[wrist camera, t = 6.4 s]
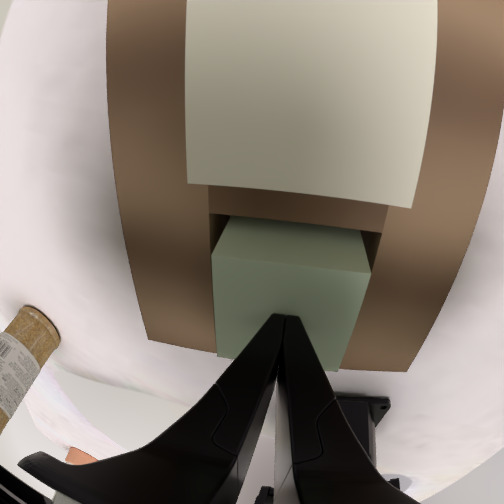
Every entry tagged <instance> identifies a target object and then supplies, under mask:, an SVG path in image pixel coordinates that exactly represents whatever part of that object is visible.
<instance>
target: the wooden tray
mask: <svg viewBox="0 0 504 504" xmlns="http://www.w3.org/2000/svg"><path fill="white" fill-rule="evenodd" d="M186 9H187V0H108V8H107V32H106V74H107V100H108V116H109V129H110V141H111V151H112V160H113V168H114V176H115V184H116V191H117V198H118V204H119V211H120V217H121V222H122V228H123V234H124V239H125V244H126V249H127V254H128V259H129V264H130V269H131V273H132V278H133V282H134V286H135V291H136V295H137V299H138V303H139V307H140V311H141V315H142V318H143V322H144V326H145V329H146V333H147V337H148V340H153V341H157V342H162V343H166V344H171V345H176V346H180V347H185V348H190V349H196V350H201V351H206V352H212V353H217V346H216V331H215V316H214V299H213V280H212V259H211V255H212V253H213V251H214V249H215V247H216V245H217V243H218V241H219V239H220V237H221V235H222V233H223V231H224V229H225V227H226V225H227V223H228V221H229V219H230V215H234V216H244V217H254V218H264V219H273V220H282V221H291V222H300V223H309V224H317V225H325V226H334V227H341V228H349V229H357V230H360V233H361V236H362V240H363V244H364V247H365V251H366V255H367V259H368V263H369V267H370V271H371V276H370V280H369V283H368V286H367V290H366V293H365V296H364V299H363V302H362V305H361V308H360V311H359V314H358V317H357V320H356V323H355V326H354V329H353V332H352V335H351V338H350V340H349V343H348V346H347V348H346V351H345V354H344V356H343V359H342V362H341V364H340V367H339V369H350V370H367V371H390V372H407V370H408V369H409V367H410V365H411V364H412V362H413V360H414V359H415V357H416V355H417V353H418V352H419V350H420V348H421V346H422V345H423V343H424V341H425V339H426V337H427V335H428V334H429V332H430V330H431V328H432V326H433V324H434V322H435V320H436V318H437V316H438V314H439V312H440V310H441V308H442V306H443V304H444V302H445V300H446V298H447V296H448V293H449V291H450V289H451V287H452V284H453V282H454V280H455V278H456V275H457V273H458V271H459V268H460V266H461V263H462V261H463V258H464V256H465V253H466V251H467V248H468V245H469V243H470V240H471V237H472V234H473V231H474V229H475V226H476V223H477V220H478V217H479V213H480V210H481V207H482V204H483V200H484V197H485V194H486V190H487V186H488V183H489V179H490V175H491V171H492V167H493V163H494V158H495V154H496V149H497V144H498V139H499V134H500V128H501V122H502V116H503V109H504V0H437V47H436V63H435V75H434V85H433V94H432V102H431V110H430V117H429V124H428V130H427V136H426V142H425V147H424V153H423V158H422V163H421V168H420V173H419V177H418V182H417V186H416V191H415V195H414V199H413V203H412V207H411V209H410V208H404V207H398V206H392V205H386V204H379V203H373V202H366V201H359V200H352V199H344V198H337V197H329V196H321V195H313V194H304V193H295V192H286V191H276V190H266V189H255V188H244V187H232V186H218V185H204V184H188V183H187V160H186V128H185V39H186Z"/></svg>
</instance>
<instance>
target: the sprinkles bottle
mask: <svg viewBox="0 0 504 504" xmlns="http://www.w3.org/2000/svg"><path fill="white" fill-rule="evenodd" d="M59 342H60V339H59V336H58V334H57V331H56V330H55V328H54V326H53V325H52V324H51V323H50V322H49V321H48V320H47V318H46V317H45V316H43V315H42V314H41V313H40V312H39V311H37V310H35V309H33V308H31V307H22V308H21V309H20V310H19V313H18V315H17V316H16V317H15V318H14V320H13V321H12V322H11V323H10V324H9V326H8V327H7V328H6V329H5V331H4V332H2V333H1V334H0V434H1V432H2V431H3V429H4V428H5V426H6V424H7V423H8V421H9V420H10V419H11V418H12V416H13V414H14V412H15V411H16V409H17V407H18V406H19V404H20V402H21V401H22V399H23V398H24V396H25V394H26V393H27V391H28V390H29V388H30V387H31V385H32V384H33V382H34V380H35V379H36V377H37V376H38V374H39V373H40V370H41V368H42V367H43V365H44V364H45V362H46V361H47V359H48V358H49V356H50V355H51V353H52V352H53V351H54V349H56V348H57V347H58V346H59Z"/></svg>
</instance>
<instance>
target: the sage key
mask: <svg viewBox="0 0 504 504" xmlns="http://www.w3.org/2000/svg"><path fill="white" fill-rule="evenodd" d="M211 259H212V280H213V299H214V316H215V331H216V346H217V357H223V358H229V359H236V357H237V356H238V355H239V354H240V352H241V351H242V350H243V349H244V348H245V346H246V345H247V344H248V343H249V341H250V340H251V339H252V338H253V337H254V335H255V334H256V333H257V332H258V330H259V329H260V328H261V327H262V325H263V324H264V323H265V322H266V320H267V319H268V318H269V317H270V315H271V314H272V313H278V314H284V315H285V318H286V315H295V316H299V317H300V319H301V321H302V323H303V325H304V327H305V330H306V332H307V334H308V336H309V338H310V341H311V343H312V345H313V347H314V349H315V352H316V354H317V356H318V358H319V361H320V363H321V365H322V367H323V369H324V371H336V372H338V369H339V367H340V364H341V362H342V359H343V356H344V354H345V351H346V348H347V346H348V343H349V340H350V338H351V335H352V332H353V329H354V326H355V323H356V320H357V317H358V314H359V311H360V308H361V305H362V302H363V299H364V296H365V293H366V290H367V286H368V283H369V280H370V276H371V271H370V267H369V263H368V259H367V255H366V251H365V247H364V244H363V240H362V236H361V233H360V230H357V229H349V228H341V227H334V226H325V225H317V224H309V223H300V222H291V221H282V220H273V219H264V218H254V217H244V216H234V215H231V217H230V219H229V221H228V223H227V225H226V227H225V229H224V231H223V233H222V235H221V237H220V239H219V241H218V243H217V245H216V247H215V249H214V251H213V253H212V255H211Z"/></svg>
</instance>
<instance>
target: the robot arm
mask: <svg viewBox="0 0 504 504" xmlns="http://www.w3.org/2000/svg"><path fill="white" fill-rule="evenodd" d="M278 366H279V367H278ZM277 373H278V374H277ZM276 378H277V385H276V436H275V472H274V473H275V474H274V488H272V487H269V486H262V487H261V490H260V493H259V495H258V496H257V497H256V500H255V503H254V504H420V503H419V502H417V501H416V500H414V499H413V498H411V497H409V496H408V495H406V494H405V493H403V492H402V491H400V484H399V478H396V479H390V481H386V480H385V479H384V478H383V477H382V476H381V475H380V473H379V472H378V471H377V469H376V442H375V427H376V426H377V425H378V423H379V422H380V421H381V419H382V418H383V417H384V415H385V414H386V413H387V411H388V410H389V409H390V407H391V404H390V400H388V399H363V398H342V397H336V396H335V394H334V392H333V390H332V387H331V385H330V383H329V381H328V378H327V376H326V374H325V372H324V369H323V367H322V365H321V363H320V361H319V358H318V356H317V354H316V352H315V349H314V347H313V345H312V343H311V341H310V338H309V336H308V334H307V332H306V330H305V327H304V325H303V323H302V321H301V319H300V317H299V316H295V315H286V318H285V315H284V314H278V313H272V314H271V315H270V317H269V318H268V319H267V320H266V322H265V323H264V324H263V325H262V327H261V328H260V329H259V330H258V332H257V333H256V334H255V335H254V337H253V338H252V339H251V340H250V341H249V343H248V344H247V345H246V346H245V348H244V349H243V350H242V351H241V352H240V354H239V355H238V356H237V357H236V359H235V360H234V361H233V362H232V363H231V365H230V366H229V367H228V368H227V369H226V370H225V372H224V373H223V374H222V375H221V376H220V378H219V379H218V380H217V381H216V384H213V386H212V387H211V388H210V389H209V390H208V391H207V393H206V394H205V395H204V396H203V397H202V398H201V399H200V400H199V401H198V402H197V403H196V404H195V405H194V406H193V407H192V408H191V409H190V410H189V411H188V412H186V413H185V414H184V415H183V416H182V417H181V418H180V419H178V420H177V421H176V422H175V423H174V424H172V425H171V426H170V427H169V428H168V429H166V430H165V431H164V432H163V433H162V434H160V435H159V436H158V437H157V438H155V439H154V440H153V441H151V442H150V443H148V444H147V445H145V446H143V447H142V448H139V449H137V450H134V451H131V452H127V453H124V454H121V455H117V456H114V457H110V458H107V459H103V460H99V461H96V462H92V463H88V464H82V465H72V464H66V463H64V462H61V461H59V460H57V459H56V458H54V457H52V456H50V455H48V454H46V453H44V452H41V451H40V452H37V453H34V454H31V455H29V456H27V457H25V458H23V459H22V460H21V461H20V462H19V463H18V464H17V465H18V466H19V467H20V468H22V469H23V470H25V471H26V472H28V473H29V474H30V475H32V476H33V477H35V478H37V479H38V480H40V481H41V482H43V483H44V484H46V485H47V486H49V487H51V488H52V489H54V490H56V493H55V496H54V498H53V500H50V499H49V498H48V497H46V496H44V495H43V494H41V493H40V492H38V491H36V490H35V489H33V488H32V487H30V486H29V485H27V484H26V483H24V482H23V481H22V480H20V479H19V478H17V477H16V476H15V475H13V474H12V473H10V472H9V471H8V470H6V469H5V468H4V467H3V466H1V465H0V504H236V502H237V499H238V496H239V493H240V490H241V488H242V485H243V482H244V479H245V476H246V474H247V471H248V468H249V465H250V462H251V459H252V456H253V453H254V450H255V447H256V444H257V441H258V438H259V435H260V432H261V429H262V426H263V423H264V419H265V416H266V413H267V410H268V407H269V403H270V400H271V397H272V393H273V390H274V387H275V383H276Z"/></svg>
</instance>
